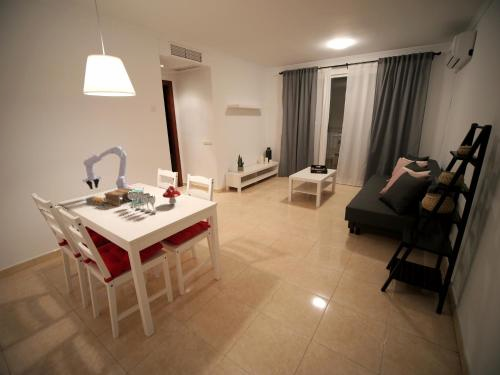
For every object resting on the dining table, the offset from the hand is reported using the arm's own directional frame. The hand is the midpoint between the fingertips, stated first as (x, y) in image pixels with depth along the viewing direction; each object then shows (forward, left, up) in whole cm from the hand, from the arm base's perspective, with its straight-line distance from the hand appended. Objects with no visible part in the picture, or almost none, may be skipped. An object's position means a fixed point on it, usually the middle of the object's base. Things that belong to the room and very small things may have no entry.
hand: (94, 188), depth 198 cm
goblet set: (+6, +62, -10) cm, 63 cm away
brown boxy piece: (0, +32, -9) cm, 33 cm away
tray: (+9, +15, -10) cm, 19 cm away
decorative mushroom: (-12, +75, -10) cm, 76 cm away
